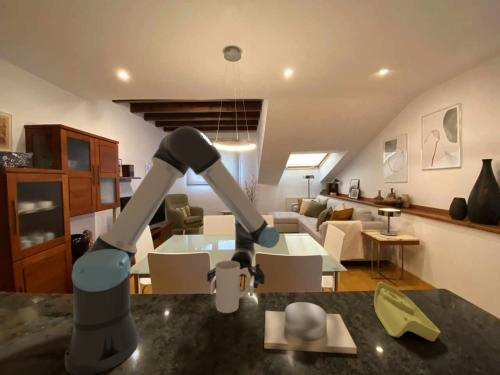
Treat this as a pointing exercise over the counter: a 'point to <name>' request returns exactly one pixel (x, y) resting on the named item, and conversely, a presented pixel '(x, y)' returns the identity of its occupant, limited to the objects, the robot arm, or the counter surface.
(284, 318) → the board with round cheese
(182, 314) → the counter surface
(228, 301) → the mug
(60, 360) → the counter surface
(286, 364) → the counter surface
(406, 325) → the plastic component
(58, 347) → the counter surface
